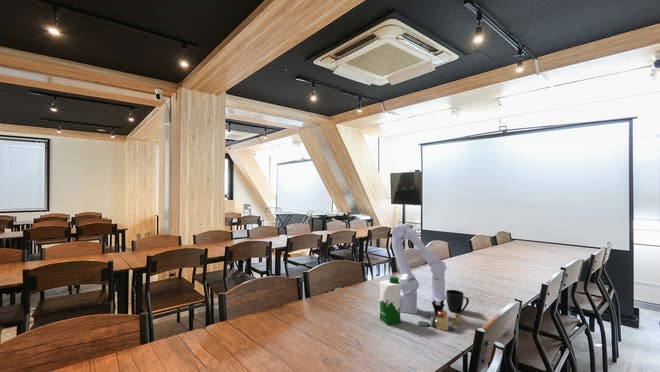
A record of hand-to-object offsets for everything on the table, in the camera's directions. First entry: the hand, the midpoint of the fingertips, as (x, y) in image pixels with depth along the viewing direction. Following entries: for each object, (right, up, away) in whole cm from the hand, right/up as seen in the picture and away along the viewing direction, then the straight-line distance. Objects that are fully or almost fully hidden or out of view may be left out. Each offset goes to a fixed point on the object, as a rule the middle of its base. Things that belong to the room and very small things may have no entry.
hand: (438, 315), depth 143 cm
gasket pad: (-9, -1, -7) cm, 12 cm away
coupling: (0, -1, 0) cm, 1 cm away
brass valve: (-2, -1, -10) cm, 10 cm away
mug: (+13, -2, +8) cm, 15 cm away
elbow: (+6, -2, -6) cm, 9 cm away
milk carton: (-24, -1, -4) cm, 25 cm away
